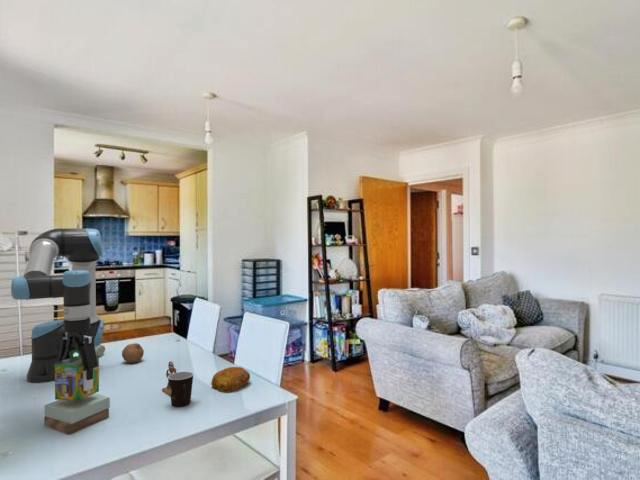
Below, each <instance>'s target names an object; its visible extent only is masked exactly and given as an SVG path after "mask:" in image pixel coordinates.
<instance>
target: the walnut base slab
mask: <svg viewBox="0 0 640 480" xmlns="http://www.w3.org/2000/svg"><path fill="white" fill-rule="evenodd" d="M108 418H110V408H107V409H105V410H103V411H100V412H98V413H96V414H93V415H91V416H89V417H87V418H84V419H82V420H80V421H77V422H75V423H73V424H69V423H66V422H62V421H59V420H56V419H52V418H49V417H46V416H45V415H44V417H43V420H44V427H47V428H50V429H52V430H54V431H58V432H61V433H63V434H66V435H72V434H74V433H76V432H77V433H78V432H79V431H81V430H83V429H84V430H85V428H88V427H90V426H92V425H95V424H97V423H99V422H102V421H104V420H107V419H108Z"/></svg>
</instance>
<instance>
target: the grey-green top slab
mask: <svg viewBox="0 0 640 480" xmlns="http://www.w3.org/2000/svg"><path fill="white" fill-rule="evenodd" d="M110 403H111V402H110V396H106V395H102V394H97V393H94V394H92V395H90V396H88V397H86V398H84V399H82V400H80V401H72V400H54V401H51V402H50V403H46V404H44V416H46V417H49V418H52V419H56V420H59V421H62V422H66V423H69V424H73V423H75V422H77V421H80V420H82V419H84V418H87V417H89V416H91V415H93V414H96V413H98V412H100V411H103V410H105V409H107V408H109V409H110V405H111V404H110Z"/></svg>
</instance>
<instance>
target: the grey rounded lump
mask: <svg viewBox="0 0 640 480" xmlns="http://www.w3.org/2000/svg"><path fill="white" fill-rule="evenodd" d="M95 352H96V357H98V358H99V357H101V356H102V355H104V354H105V352H106V347H105V346H104V345H103V344H101V343H100V345H98V346H96V347H95Z"/></svg>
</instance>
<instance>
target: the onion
mask: <svg viewBox="0 0 640 480" xmlns="http://www.w3.org/2000/svg"><path fill="white" fill-rule="evenodd" d="M144 354H145V353H144V348H143V347H142V346H141V344H139V343H137V342H136V343H135V342H134V343H129V344H127V345H126V346H124V347H123V350H122V351H121V357H122V359H123V361H124V362H126V363H128V364H135V363H139V361H141V360H142V359H143V357H144Z"/></svg>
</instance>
